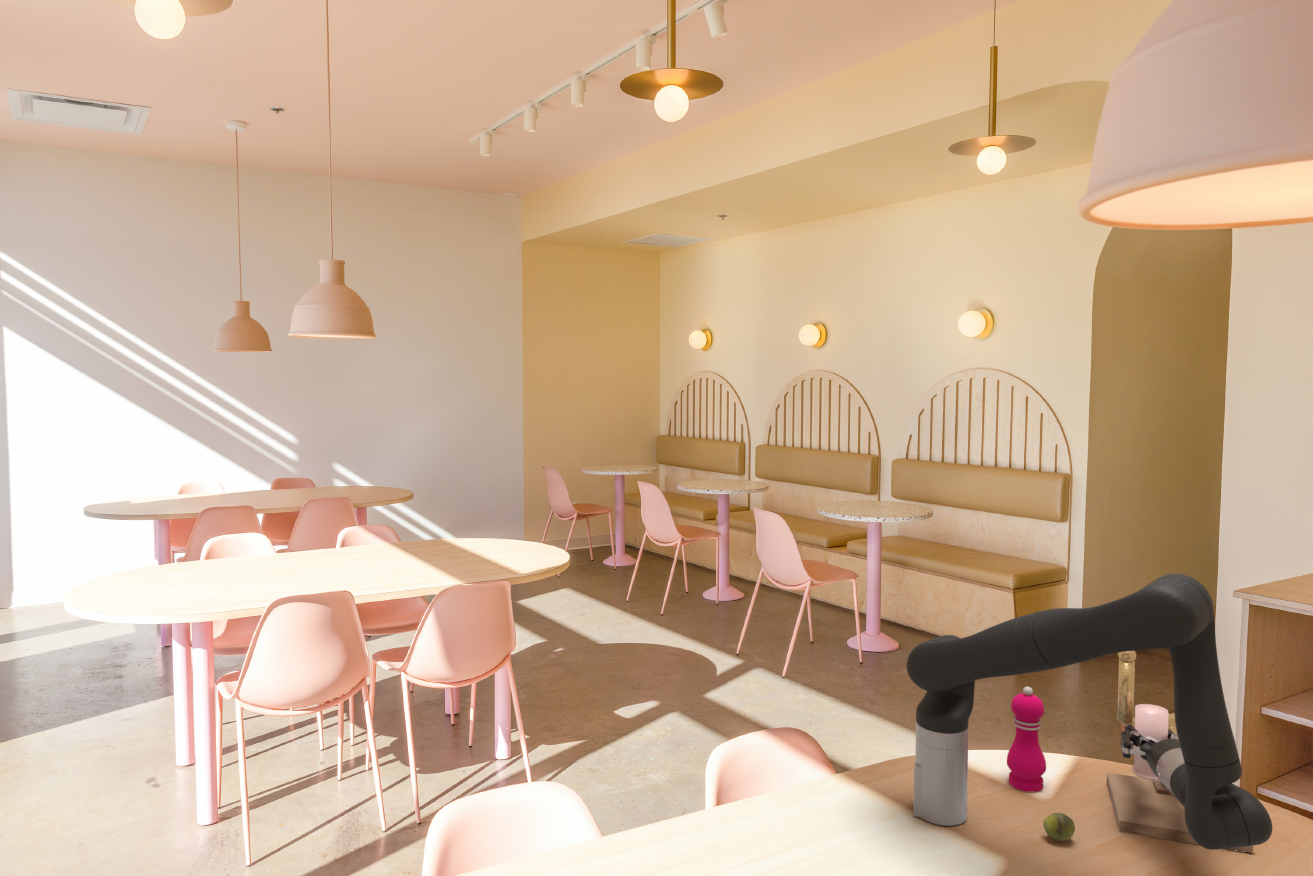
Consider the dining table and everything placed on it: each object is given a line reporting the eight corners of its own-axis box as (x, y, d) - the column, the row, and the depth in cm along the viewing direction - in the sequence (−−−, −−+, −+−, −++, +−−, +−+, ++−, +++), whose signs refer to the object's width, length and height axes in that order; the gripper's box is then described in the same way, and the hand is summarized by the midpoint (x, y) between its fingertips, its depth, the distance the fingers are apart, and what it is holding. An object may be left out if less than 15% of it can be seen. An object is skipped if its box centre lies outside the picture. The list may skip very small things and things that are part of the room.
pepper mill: (1052, 793, 165) (1054, 693, 164) (1014, 793, 166) (1016, 693, 164) (1036, 776, 173) (1038, 680, 171) (1000, 776, 173) (1002, 680, 171)
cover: (1134, 778, 153) (1135, 712, 152) (1130, 764, 158) (1131, 701, 157) (1171, 783, 151) (1173, 717, 150) (1165, 769, 156) (1167, 705, 155)
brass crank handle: (1179, 776, 165) (1184, 639, 163) (1192, 783, 162) (1197, 643, 160) (1110, 785, 161) (1114, 645, 159) (1122, 792, 158) (1126, 650, 157)
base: (1119, 831, 151) (1119, 816, 151) (1106, 782, 170) (1106, 768, 170) (1252, 854, 144) (1253, 838, 144) (1224, 799, 162) (1224, 785, 162)
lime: (1039, 836, 150) (1039, 809, 150) (1060, 831, 152) (1060, 804, 151) (1059, 849, 146) (1059, 821, 146) (1080, 844, 148) (1081, 816, 147)
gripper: (1231, 752, 138) (1189, 713, 155) (1135, 745, 141) (1103, 708, 158) (1230, 797, 139) (1188, 753, 155) (1134, 789, 142) (1103, 747, 158)
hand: (1145, 730), depth 156 cm, fingers closed on cover, 5 cm apart
